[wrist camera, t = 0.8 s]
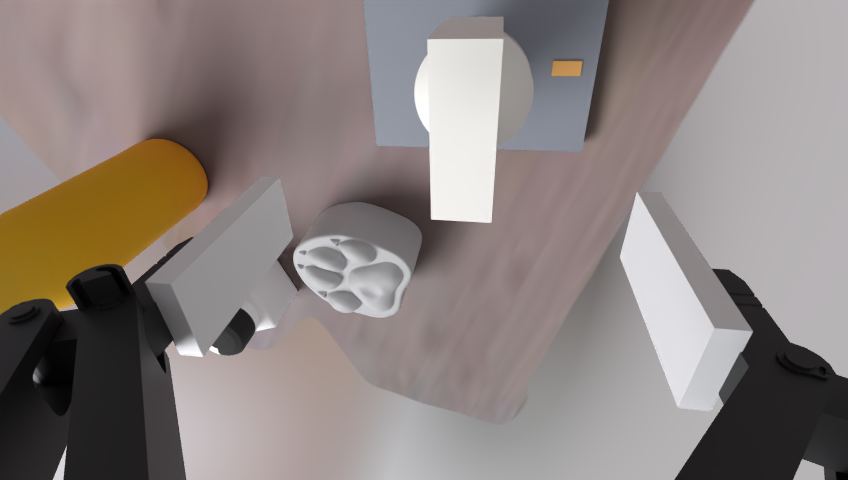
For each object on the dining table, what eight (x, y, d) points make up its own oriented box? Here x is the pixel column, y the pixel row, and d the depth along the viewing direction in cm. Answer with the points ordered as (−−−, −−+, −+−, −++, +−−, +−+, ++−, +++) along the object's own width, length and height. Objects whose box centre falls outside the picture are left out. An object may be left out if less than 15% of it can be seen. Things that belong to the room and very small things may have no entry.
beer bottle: (122, 161, 52) (-203, 335, 28) (165, 120, 48) (-170, 283, 24) (181, 218, 56) (-63, 417, 32) (226, 185, 52) (-14, 383, 28)
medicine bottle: (272, 249, 56) (222, 312, 46) (299, 291, 59) (258, 358, 50) (229, 261, 58) (173, 324, 49) (258, 300, 62) (211, 366, 52)
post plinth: (366, -30, 37) (337, -26, 31) (610, -37, 34) (635, -35, 28) (381, 138, 45) (360, 169, 39) (578, 144, 43) (592, 178, 36)
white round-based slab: (418, 12, 31) (378, 39, 21) (538, 10, 30) (556, 38, 20) (423, 164, 37) (394, 239, 27) (522, 167, 36) (529, 247, 26)
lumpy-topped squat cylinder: (404, 287, 56) (390, 335, 49) (309, 254, 56) (281, 298, 49) (428, 223, 50) (416, 268, 43) (322, 186, 50) (292, 225, 43)
